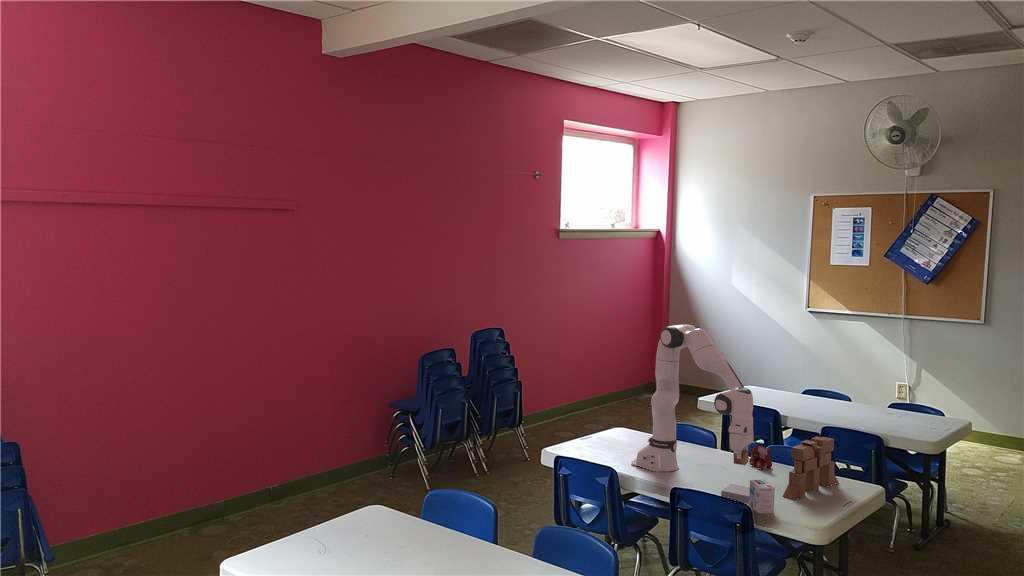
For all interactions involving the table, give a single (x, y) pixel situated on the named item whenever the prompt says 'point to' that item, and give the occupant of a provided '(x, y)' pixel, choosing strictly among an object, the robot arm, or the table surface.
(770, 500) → the light bulb box
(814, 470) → the wooden robot
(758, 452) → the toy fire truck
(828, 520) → the table surface
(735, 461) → the walnut cube
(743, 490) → the stand
